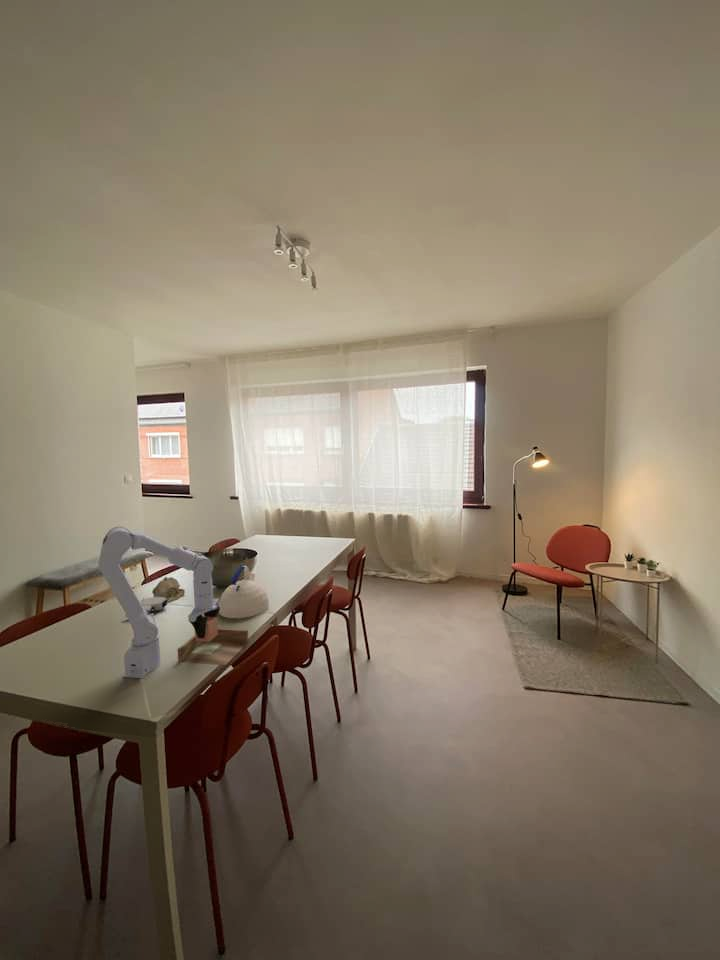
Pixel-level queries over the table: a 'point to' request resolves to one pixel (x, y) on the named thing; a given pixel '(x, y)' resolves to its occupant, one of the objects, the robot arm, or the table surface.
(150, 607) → the robot toy
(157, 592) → the ceramic model
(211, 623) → the cube
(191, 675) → the table surface
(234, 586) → the kettle
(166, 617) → the table surface
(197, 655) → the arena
